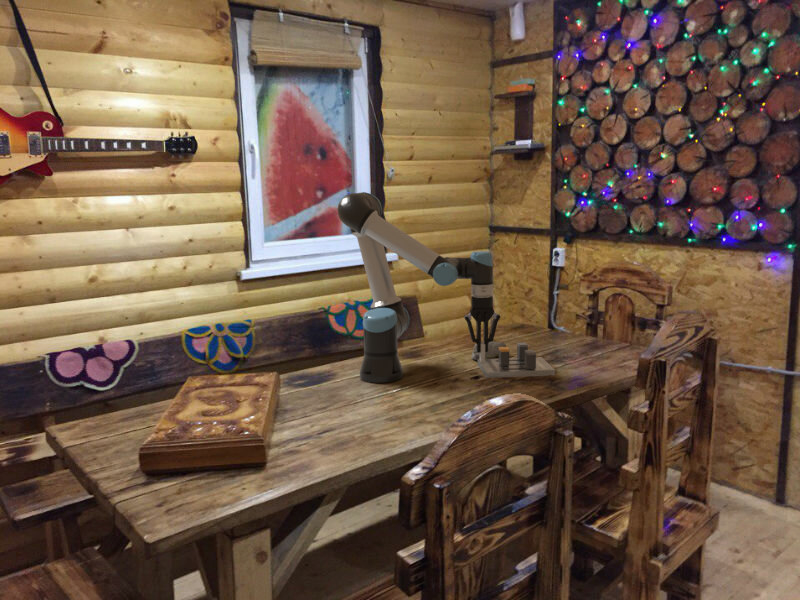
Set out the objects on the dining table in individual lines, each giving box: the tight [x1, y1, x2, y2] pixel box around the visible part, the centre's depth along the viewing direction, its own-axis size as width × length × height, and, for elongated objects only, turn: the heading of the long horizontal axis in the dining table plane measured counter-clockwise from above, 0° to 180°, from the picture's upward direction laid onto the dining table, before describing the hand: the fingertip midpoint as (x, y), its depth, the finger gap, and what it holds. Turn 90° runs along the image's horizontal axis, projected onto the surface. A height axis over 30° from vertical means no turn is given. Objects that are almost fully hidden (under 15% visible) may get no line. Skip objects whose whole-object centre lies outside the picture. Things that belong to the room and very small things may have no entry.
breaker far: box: [516, 342, 529, 361], centre depth 238 cm, size 3×4×6 cm
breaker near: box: [525, 349, 537, 369], centre depth 227 cm, size 3×4×6 cm
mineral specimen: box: [471, 341, 507, 361], centre depth 250 cm, size 16×7×7 cm, turn 121°
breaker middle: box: [498, 346, 510, 366], centre depth 232 cm, size 3×4×6 cm
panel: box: [477, 356, 556, 379], centre depth 233 cm, size 24×17×2 cm
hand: (482, 360), depth 232 cm, fingers closed
